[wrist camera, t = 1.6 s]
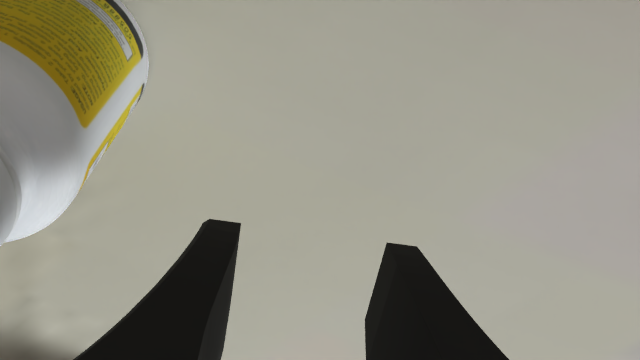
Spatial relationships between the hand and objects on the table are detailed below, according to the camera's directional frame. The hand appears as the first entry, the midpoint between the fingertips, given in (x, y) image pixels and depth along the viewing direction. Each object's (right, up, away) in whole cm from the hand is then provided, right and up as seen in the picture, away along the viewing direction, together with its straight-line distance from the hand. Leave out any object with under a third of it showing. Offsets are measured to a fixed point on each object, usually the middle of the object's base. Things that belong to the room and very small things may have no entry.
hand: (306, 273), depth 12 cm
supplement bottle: (-8, +6, +8) cm, 13 cm away
